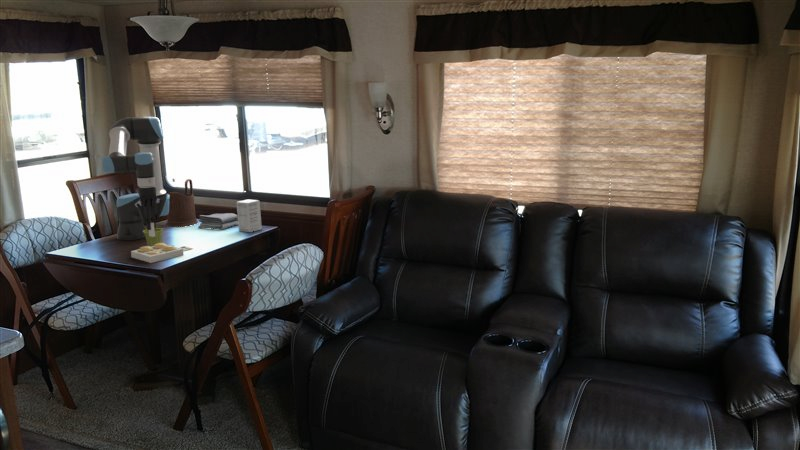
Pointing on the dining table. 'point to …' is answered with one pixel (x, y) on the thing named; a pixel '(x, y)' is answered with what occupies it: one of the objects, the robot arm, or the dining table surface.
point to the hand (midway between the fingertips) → (152, 236)
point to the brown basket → (181, 208)
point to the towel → (218, 221)
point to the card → (185, 248)
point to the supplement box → (249, 215)
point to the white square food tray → (156, 257)
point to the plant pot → (155, 239)
